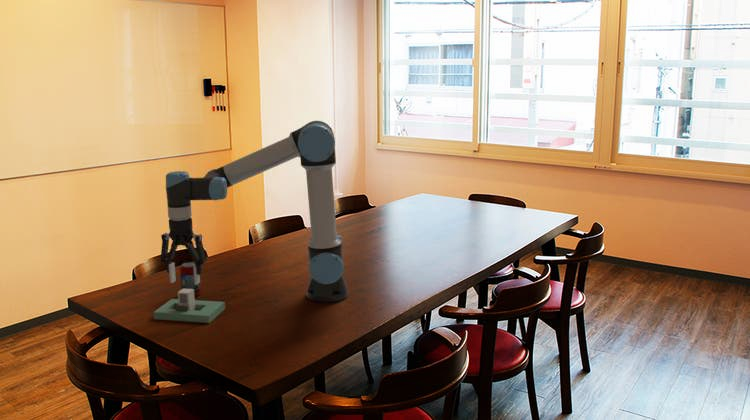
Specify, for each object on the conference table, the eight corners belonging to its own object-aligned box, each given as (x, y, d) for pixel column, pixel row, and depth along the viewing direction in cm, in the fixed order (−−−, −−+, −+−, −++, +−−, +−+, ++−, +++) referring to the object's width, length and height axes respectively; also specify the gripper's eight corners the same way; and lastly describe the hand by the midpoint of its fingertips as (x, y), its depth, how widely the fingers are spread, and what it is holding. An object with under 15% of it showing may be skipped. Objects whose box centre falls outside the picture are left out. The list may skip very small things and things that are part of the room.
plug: (195, 311, 237) (193, 289, 235) (189, 315, 233) (187, 293, 231) (184, 310, 238) (183, 288, 236) (178, 315, 234) (177, 292, 232)
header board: (225, 308, 240) (224, 297, 239) (209, 322, 227) (208, 311, 227) (172, 305, 244) (171, 294, 243) (154, 319, 231) (153, 307, 230)
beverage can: (182, 299, 250) (179, 267, 247) (182, 293, 256) (179, 262, 253) (201, 297, 252) (198, 266, 249) (200, 291, 258) (198, 260, 255)
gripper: (214, 216, 230) (218, 280, 235) (156, 214, 234) (162, 277, 239) (204, 221, 223) (209, 287, 228) (145, 219, 227) (151, 284, 232)
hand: (185, 282), depth 233 cm, fingers open, 8 cm apart
